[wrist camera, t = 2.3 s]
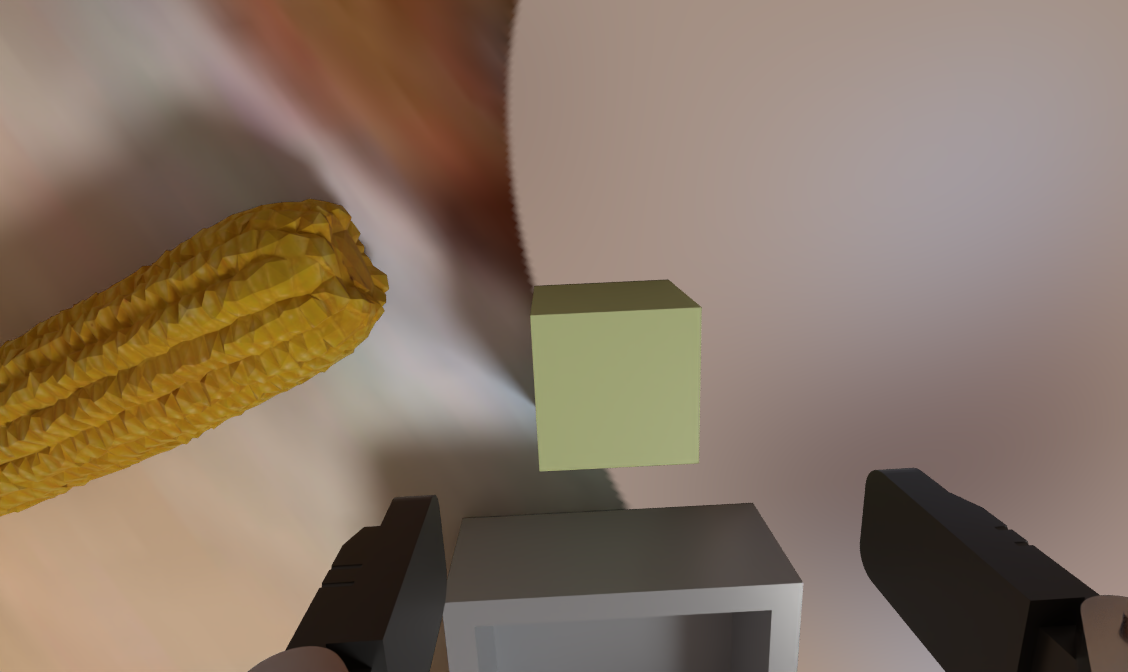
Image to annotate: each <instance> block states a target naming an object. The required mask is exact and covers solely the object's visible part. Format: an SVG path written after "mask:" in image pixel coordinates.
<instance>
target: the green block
mask: <svg viewBox="0 0 1128 672" xmlns="http://www.w3.org/2000/svg"><path fill="white" fill-rule="evenodd" d="M701 309H702V307H701V306H699V305H698V304H697V303H696V302H694V301H693V300H692V299H691V298H690V297H688V296H687V295H686V294H685V293H684V292H682V291H681V290H680V289H679V288H678V287H676V286H675V285H674V284H673V283H672V282H671V281H669V280H646V281H625V282H606V283H605V282H604V283H584V284H562V285H542V286H541V285H540V286H534V293H533V300H532V306H531V313H530V321H531V338H532V355H533V371H534V388H535V405H536V422H537V438H538V455H539V471H559V470H579V469H598V468H617V467H638V466H658V465H677V464H696V463H699V429H700V425H699V424H700V366H701Z"/></svg>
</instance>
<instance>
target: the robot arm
mask: <svg viewBox="0 0 1128 672" xmlns="http://www.w3.org/2000/svg"><path fill="white" fill-rule="evenodd" d="M860 553H861V558H862V562H863V566H864V568H865V570H866V573H867V575H868V577H869V578H870V580H871V581H872V582H873V584H874V585H875V586H876V587H877V588H878V590H879V591H880V592H881V593H882V594H883V596H884V597H885V598H886V599H887V601H888V602H889V603H890V604H891V605H892V607H893V608H894V609H895V610H896V611H897V613H898V614H899V615H900V617H901V618H902V619H903V620H904V621H905V623H906V624H907V625H908V626H909V628H910V629H911V630H912V631H913V632H914V634H915V635H916V636H917V637H918V638H919V640H920V641H921V642H922V643H923V645H924V646H925V647H926V648H927V650H928V651H929V652H930V653H931V654H932V656H933V657H934V658H935V659H936V661H937V662H938V663H939V664H940V665H941V667H942V668H943V669H944V670H945V672H1128V597H1123V596H1113V595H1099V594H1098V593H1096V592H1095V591H1094V590H1092V589H1091V588H1089V587H1088V586H1087V585H1086V584H1084V583H1083V582H1081V581H1080V580H1079V579H1078V578H1076V577H1075V576H1073V575H1072V574H1071V573H1069V572H1068V571H1067V570H1065V569H1064V568H1063V567H1061V566H1060V565H1059V564H1057V563H1056V562H1055V561H1053V560H1052V559H1051V558H1049V557H1048V556H1047V555H1045V554H1044V553H1043V552H1041V551H1040V550H1039V549H1037V548H1036V547H1035V546H1033V545H1028V541H1027V540H1025V539H1024V538H1022V537H1021V536H1020V535H1018V534H1017V533H1016V532H1014V531H1013V530H1008V528H1007V525H1005V524H1004V523H1003V522H1001V521H1000V520H998V519H997V518H996V517H994V516H993V515H992V514H990V513H989V512H988V511H987V510H985V509H984V508H982V507H980V506H978V505H976V504H973V503H971V502H969V501H967V500H964V499H963V498H961V497H958V496H956V495H954V494H952V493H949V492H948V491H947V490H945V489H944V488H943V487H942V486H940V485H939V484H938V483H936V482H935V481H934V480H932V479H931V478H930V477H929V476H927V475H926V474H925V473H923V472H922V471H921V470H919V469H917V468H902V469H886V470H874V471H871V472H870V473H869V475H868V477H867V480H866V485H865V497H864V507H863V517H862V527H861V537H860ZM446 590H447V572H446V562H445V553H444V544H443V535H442V526H441V517H440V509H439V503H438V499H437V497H436V495H427V496H410V497H395V498H394V499H393V500H392V502H391V505H390V507H389V509H388V511H387V513H386V515H385V517H384V520H383V522H382V524H381V526H373V527H364V528H362V529H361V530H360V531H359V532H358V533H357V534H355V535H354V536H353V537H352V538H351V539H350V540H348V541H347V542H346V543H345V544H344V545H343V546H342V548H341V549H340V551H339V553H338V555H337V557H336V559H335V560H334V562H333V564H332V568H331V570H329V571H328V573H327V575H326V577H325V579H324V581H323V582H322V588H319V590H318V592H317V593H316V595H315V597H314V599H313V601H312V603H311V604H310V606H309V608H308V610H307V612H306V613H305V615H304V617H303V619H302V621H301V623H300V624H299V626H298V628H297V630H296V632H295V634H294V635H293V637H292V639H291V641H290V643H289V645H288V646H287V648H286V650H285V651H283V652H280V653H278V654H276V655H273V656H271V657H269V658H267V659H266V660H264V661H262V662H260V663H259V664H257V665H256V666H254V667H253V668H252V669H250V670H249V671H248V672H430V667H431V663H432V659H433V654H434V650H435V646H436V641H437V637H438V633H439V628H440V624H441V619H442V615H443V611H444V606H445V600H446Z"/></svg>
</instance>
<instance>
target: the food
mask: <svg viewBox="0 0 1128 672" xmlns="http://www.w3.org/2000/svg"><path fill="white" fill-rule="evenodd" d="M350 220H351V216H350V215H349V214H348V212H347V211H346V210H345V209H344V207H343V206H341V205H337V204H334V203H330V202H326V201H320V200H314V199H307V200H304V201H302V202H281V203H274V204H267V205H261V206H258V207H255V208H252V209H249V210H246V211H243V212H240V213H236V214H233V215H231V216H229V217H227V218H226V219H224V220H222V221H220V222H219V223H217V224H215V225H213V226H211V227H210V228H208V229H207V228H203V229H202V230H201V231H199V232H198V233H197V234H195V235H194V236H193V237H192V238H190V239H188V240H187V241H185V242H183V243H180V244H179V245H178V246H177V247H176V248H174V249H173V250H172V251H168V250H166V251H165V252H164V254H163V255H162V256H161V257H160V258H159V259H158V260H157V261H156V262H155V263H152V265H151V266H142V267H141V268H140V269H139V270H137V271H136V272H135V273H133V274H131V275H130V276H128V277H127V278H125V279H123V280H122V281H120V282H118V283H116V284H114V285H112V286H111V287H110V288H108V289H107V290H105V291H103V292H101V293H97V292H96V293H95V294H93V295H92V296H91V297H89V298H88V299H87V300H82V301H81V302H79V303H78V304H74V306H73V308H70V309H66V310H63V311H60V313H59V314H57V315H55V316H53V317H50V319H48V320H46V321H44V322H40V323H38V324H37V325H36V326H35V327H33V328H32V329H31V330H29V331H28V332H27V333H25V334H24V335H23V336H21V337H19V338H16V339H14V340H12V341H6V342H5V343H4V344H3V345H2V346H1V347H0V516H3V515H6V514H9V513H12V512H17V513H18V512H20V511H22V510H25V509H27V508H29V507H31V506H34V505H36V504H38V503H40V502H42V501H45V500H47V499H51V498H54V497H56V496H58V495H59V494H64V493H66V492H67V491H68V490H70V489H71V488H72V487H73V486H84V485H85V484H86V483H87V482H89V481H90V480H93V479H96V478H99V477H102V476H105V475H108V474H110V473H113V472H116V471H119V470H122V469H125V468H127V467H130V466H131V465H132V464H136V463H139V462H140V461H142V460H145V459H147V458H149V457H152V456H154V455H156V454H159V453H162V452H165V451H169V450H171V449H173V448H175V447H177V446H179V445H181V444H188V442H189V441H190V440H191V439H192V438H198V437H199V436H200V435H201V434H202V433H203V432H205V431H206V430H208V429H210V428H213V429H214V428H216V427H217V426H218V425H220V424H221V423H223V422H224V421H225V420H227V419H229V418H231V417H234V416H239V415H242V414H243V412H244V411H245V410H248V409H250V408H252V407H255V406H257V405H259V404H261V403H263V402H265V401H267V400H268V399H270V398H272V397H274V396H275V395H277V394H279V393H282V392H285V391H288V390H290V389H291V388H293V387H295V386H296V385H300V384H302V383H304V382H306V381H307V380H309V379H310V378H312V377H313V376H315V375H316V374H318V373H320V372H325V371H326V370H327V369H328V368H329V367H330V366H332V365H333V364H335V363H336V362H338V361H340V360H341V359H343V358H344V357H346V356H348V355H350V354H352V353H354V349H355V348H356V347H357V346H358V345H359V344H360V343H361V342H363V341H364V340H365V339H366V338H367V337H368V336H369V333H370V331H371V330H372V328H373V326H374V324H375V323H376V321H378V319H379V318H380V317H381V315H382V314H383V313H384V309H383V307H382V306H383V305H384V304H385V303H386V294H385V292H386V291H387V290H389V285H388V280H387V275H386V274H385V273H383V272H382V271H380V270H379V269H377V268H376V267H374V266H373V265H372V263H371V261H370V259H369V257H368V256H367V255H366V254H365V253H364V245H363V244H362V243H361V242H360V240H359V239H358V238H359V236H360V232H359V231H358V229H357V228H356V226H355V225H354V224H353V222H352V221H350Z"/></svg>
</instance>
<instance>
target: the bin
mask: <svg viewBox="0 0 1128 672" xmlns="http://www.w3.org/2000/svg"><path fill="white" fill-rule="evenodd" d="M802 594H803V582H802V580H801V579H800V577H799V575H798V574H797V572H796V571H795V569H794V568H793V566H792V564H791V563H790V561H789V559H788V558H787V556H786V555H785V553H784V552H783V550H782V548H781V547H780V545H779V544H778V542H777V540H776V539H775V537H774V536H773V534H772V532H771V531H770V529H769V528H768V526H767V525H766V523H765V521H764V520H763V518H762V517H761V515H760V514H759V512H758V510H757V509H756V507H755V506H754V504H753V503H741V504H724V505H723V504H722V505H706V506H705V505H703V506H685V507H666V508H648V509H629V510H611V511H592V512H573V513H555V514H536V515H518V516H499V517H480V518H463V520H462V524H461V528H460V532H459V535H458V539H457V543H456V547H455V551H454V555H453V559H452V563H451V567H450V571H449V575H448V579H447V590H446V600H445V606H444V611H443V622H444V630H445V639H446V647H447V656H448V664H449V672H797V665H798V651H799V637H800V623H801V608H802Z"/></svg>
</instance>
